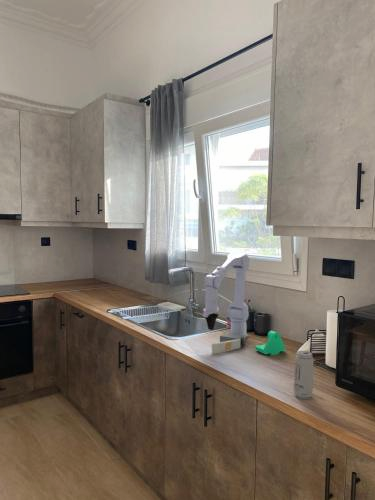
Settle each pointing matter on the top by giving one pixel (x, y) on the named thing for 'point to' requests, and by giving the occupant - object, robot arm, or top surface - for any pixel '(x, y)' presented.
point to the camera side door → (226, 346)
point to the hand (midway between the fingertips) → (210, 329)
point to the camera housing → (232, 338)
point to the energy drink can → (303, 375)
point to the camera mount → (272, 344)
